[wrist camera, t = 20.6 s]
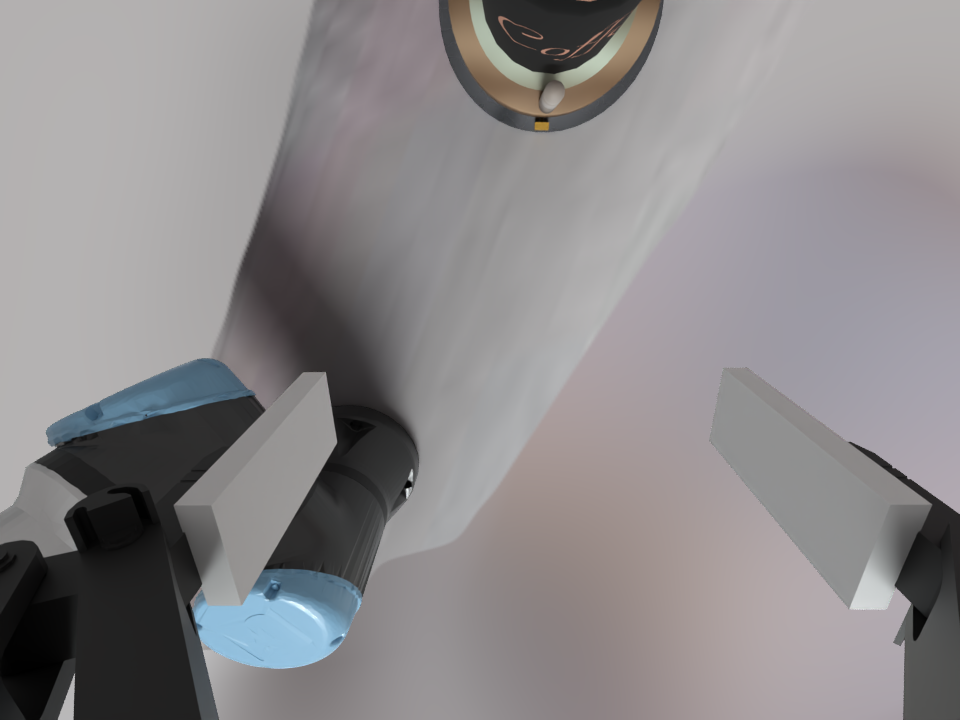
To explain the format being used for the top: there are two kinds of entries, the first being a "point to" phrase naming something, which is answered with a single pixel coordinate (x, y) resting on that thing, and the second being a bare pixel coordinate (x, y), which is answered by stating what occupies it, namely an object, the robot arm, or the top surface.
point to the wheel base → (527, 121)
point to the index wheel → (543, 89)
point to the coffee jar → (554, 30)
